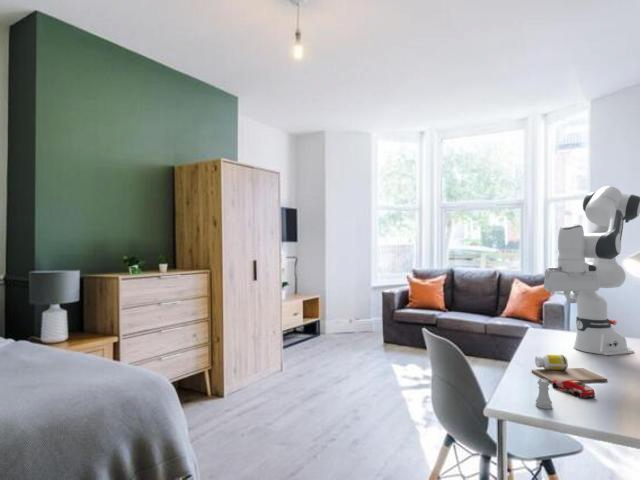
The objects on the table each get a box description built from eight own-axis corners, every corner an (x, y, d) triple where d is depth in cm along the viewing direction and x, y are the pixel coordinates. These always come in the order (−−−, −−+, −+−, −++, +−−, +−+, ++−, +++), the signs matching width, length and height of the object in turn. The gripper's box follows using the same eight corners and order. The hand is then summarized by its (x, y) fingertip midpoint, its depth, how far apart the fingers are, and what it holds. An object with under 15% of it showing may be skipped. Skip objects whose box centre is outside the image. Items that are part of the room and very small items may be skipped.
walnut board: (583, 370, 152) (583, 368, 152) (607, 381, 141) (607, 378, 141) (531, 372, 151) (531, 369, 151) (551, 383, 139) (551, 380, 139)
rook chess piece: (532, 403, 123) (531, 377, 123) (546, 403, 123) (545, 376, 123) (541, 410, 118) (541, 382, 118) (555, 409, 119) (555, 382, 119)
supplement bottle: (562, 352, 153) (534, 351, 154) (568, 358, 148) (540, 357, 149) (561, 366, 154) (533, 365, 155) (568, 372, 148) (539, 371, 150)
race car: (548, 386, 137) (548, 375, 138) (560, 384, 139) (560, 373, 139) (584, 401, 125) (584, 388, 125) (597, 398, 127) (597, 386, 127)
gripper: (550, 267, 152) (550, 304, 152) (602, 267, 153) (603, 303, 153) (540, 266, 158) (540, 302, 158) (590, 265, 159) (591, 301, 159)
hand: (571, 302), depth 155 cm, fingers closed
